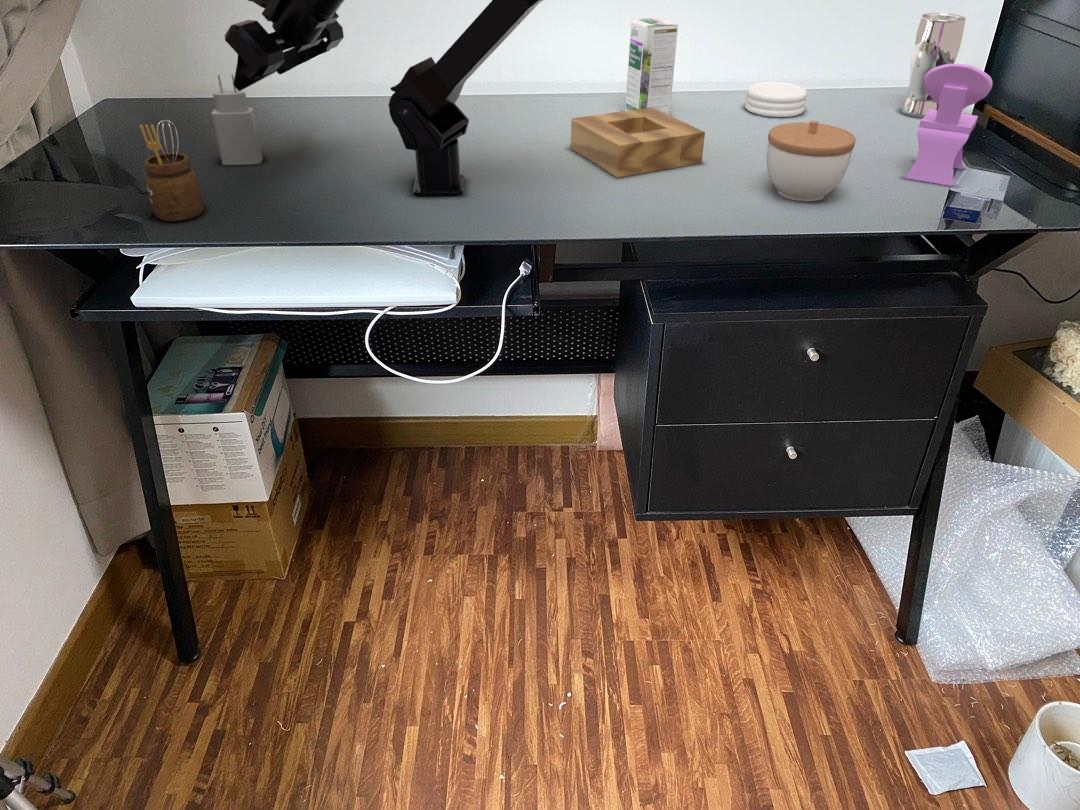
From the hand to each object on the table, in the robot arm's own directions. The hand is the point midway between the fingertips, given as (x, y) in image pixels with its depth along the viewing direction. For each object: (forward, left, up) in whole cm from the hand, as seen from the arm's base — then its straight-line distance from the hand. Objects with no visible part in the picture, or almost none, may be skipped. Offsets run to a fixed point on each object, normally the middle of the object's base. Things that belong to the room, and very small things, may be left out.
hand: (257, 79), depth 115 cm
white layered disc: (+25, -79, -12) cm, 84 cm away
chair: (-7, -93, -12) cm, 94 cm away
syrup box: (+23, -57, -12) cm, 63 cm away
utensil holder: (-18, +8, -12) cm, 23 cm away
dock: (+2, -52, -12) cm, 54 cm away
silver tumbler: (+22, -103, -12) cm, 106 cm away
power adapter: (+2, +5, -12) cm, 13 cm away
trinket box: (-14, -72, -12) cm, 75 cm away
